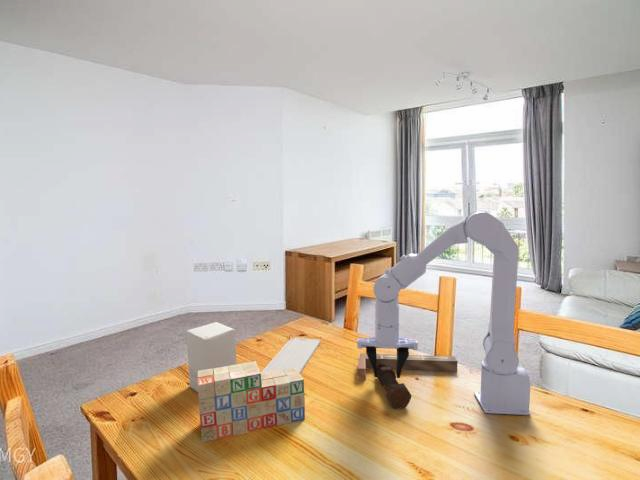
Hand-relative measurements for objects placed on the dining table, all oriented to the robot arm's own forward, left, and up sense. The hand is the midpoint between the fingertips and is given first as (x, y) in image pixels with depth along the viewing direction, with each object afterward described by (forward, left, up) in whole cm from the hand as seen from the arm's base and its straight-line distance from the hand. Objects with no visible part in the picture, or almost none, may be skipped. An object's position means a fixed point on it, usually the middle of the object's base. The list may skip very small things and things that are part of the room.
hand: (386, 375), depth 91 cm
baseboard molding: (+28, -12, -4) cm, 30 cm away
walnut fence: (-6, -7, -3) cm, 10 cm away
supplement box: (+44, +3, -3) cm, 44 cm away
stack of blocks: (+29, +17, -3) cm, 34 cm away
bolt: (-1, +2, -3) cm, 4 cm away
